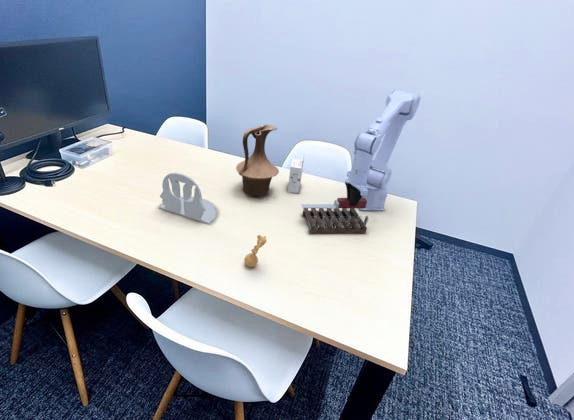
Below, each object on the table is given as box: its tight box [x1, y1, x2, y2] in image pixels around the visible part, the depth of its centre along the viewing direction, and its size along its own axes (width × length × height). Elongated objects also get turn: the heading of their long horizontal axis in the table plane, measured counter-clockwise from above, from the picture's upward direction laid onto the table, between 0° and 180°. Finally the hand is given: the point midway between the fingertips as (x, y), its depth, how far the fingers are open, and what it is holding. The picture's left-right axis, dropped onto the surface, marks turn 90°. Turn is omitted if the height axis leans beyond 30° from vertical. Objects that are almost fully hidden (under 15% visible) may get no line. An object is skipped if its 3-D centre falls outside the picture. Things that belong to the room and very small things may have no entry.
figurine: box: [244, 234, 267, 268], centre depth 96 cm, size 8×6×12 cm
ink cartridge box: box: [287, 154, 305, 194], centre depth 139 cm, size 9×5×15 cm, turn 168°
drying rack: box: [301, 207, 369, 235], centre depth 119 cm, size 20×13×7 cm, turn 95°
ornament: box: [158, 172, 217, 225], centre depth 121 cm, size 22×13×17 cm, turn 65°
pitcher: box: [235, 124, 280, 198], centre depth 131 cm, size 18×17×28 cm
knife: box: [300, 197, 367, 209], centre depth 118 cm, size 23×3×3 cm, turn 95°
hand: (351, 203), depth 119 cm, fingers closed on knife, 2 cm apart
